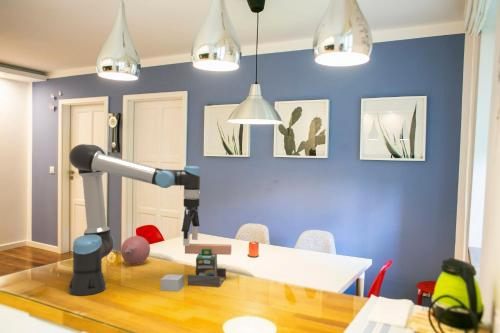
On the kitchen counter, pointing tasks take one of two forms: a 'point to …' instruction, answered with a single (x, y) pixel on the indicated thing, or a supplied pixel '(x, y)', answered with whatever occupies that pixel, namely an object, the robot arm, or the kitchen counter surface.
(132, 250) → the balloon
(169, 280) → the white and tan block
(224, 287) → the kitchen counter surface
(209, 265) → the chalk box
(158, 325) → the kitchen counter surface
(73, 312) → the kitchen counter surface
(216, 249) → the bar
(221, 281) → the cradle
